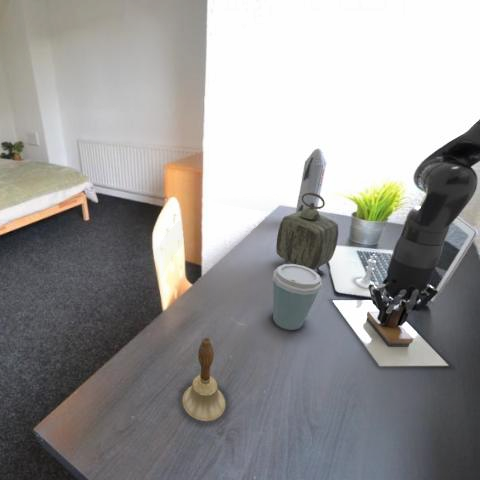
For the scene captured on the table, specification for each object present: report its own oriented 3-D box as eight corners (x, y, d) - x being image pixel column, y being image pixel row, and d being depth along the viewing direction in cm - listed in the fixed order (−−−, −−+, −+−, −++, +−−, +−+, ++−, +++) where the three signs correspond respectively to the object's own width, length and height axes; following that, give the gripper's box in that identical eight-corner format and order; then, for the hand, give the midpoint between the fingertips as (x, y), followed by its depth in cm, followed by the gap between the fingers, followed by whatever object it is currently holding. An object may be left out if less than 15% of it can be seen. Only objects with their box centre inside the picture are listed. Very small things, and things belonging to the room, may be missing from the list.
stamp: (365, 319, 81) (373, 294, 78) (384, 319, 81) (394, 293, 78) (387, 347, 73) (398, 320, 70) (410, 347, 73) (421, 320, 69)
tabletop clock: (328, 276, 100) (348, 197, 88) (310, 286, 95) (328, 204, 84) (287, 257, 111) (300, 184, 99) (269, 265, 106) (281, 190, 95)
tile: (384, 302, 88) (385, 299, 88) (447, 368, 69) (449, 365, 68) (331, 302, 89) (332, 300, 88) (378, 368, 69) (379, 365, 69)
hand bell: (226, 427, 58) (233, 361, 51) (179, 420, 60) (179, 354, 52) (226, 387, 66) (232, 324, 58) (184, 382, 67) (185, 320, 60)
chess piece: (378, 290, 93) (388, 259, 89) (360, 290, 93) (369, 259, 89) (368, 280, 98) (378, 250, 93) (351, 280, 98) (360, 250, 93)
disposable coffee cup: (273, 304, 88) (281, 255, 82) (316, 319, 83) (329, 268, 76) (259, 327, 81) (266, 275, 74) (305, 345, 75) (318, 291, 68)
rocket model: (300, 232, 127) (315, 153, 113) (284, 226, 132) (297, 149, 118) (321, 223, 134) (338, 147, 120) (305, 218, 139) (319, 144, 126)
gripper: (390, 267, 65) (367, 335, 73) (464, 266, 64) (433, 334, 72) (369, 249, 72) (350, 312, 79) (436, 248, 71) (410, 312, 79)
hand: (390, 323), depth 76 cm, fingers closed on stamp, 3 cm apart
